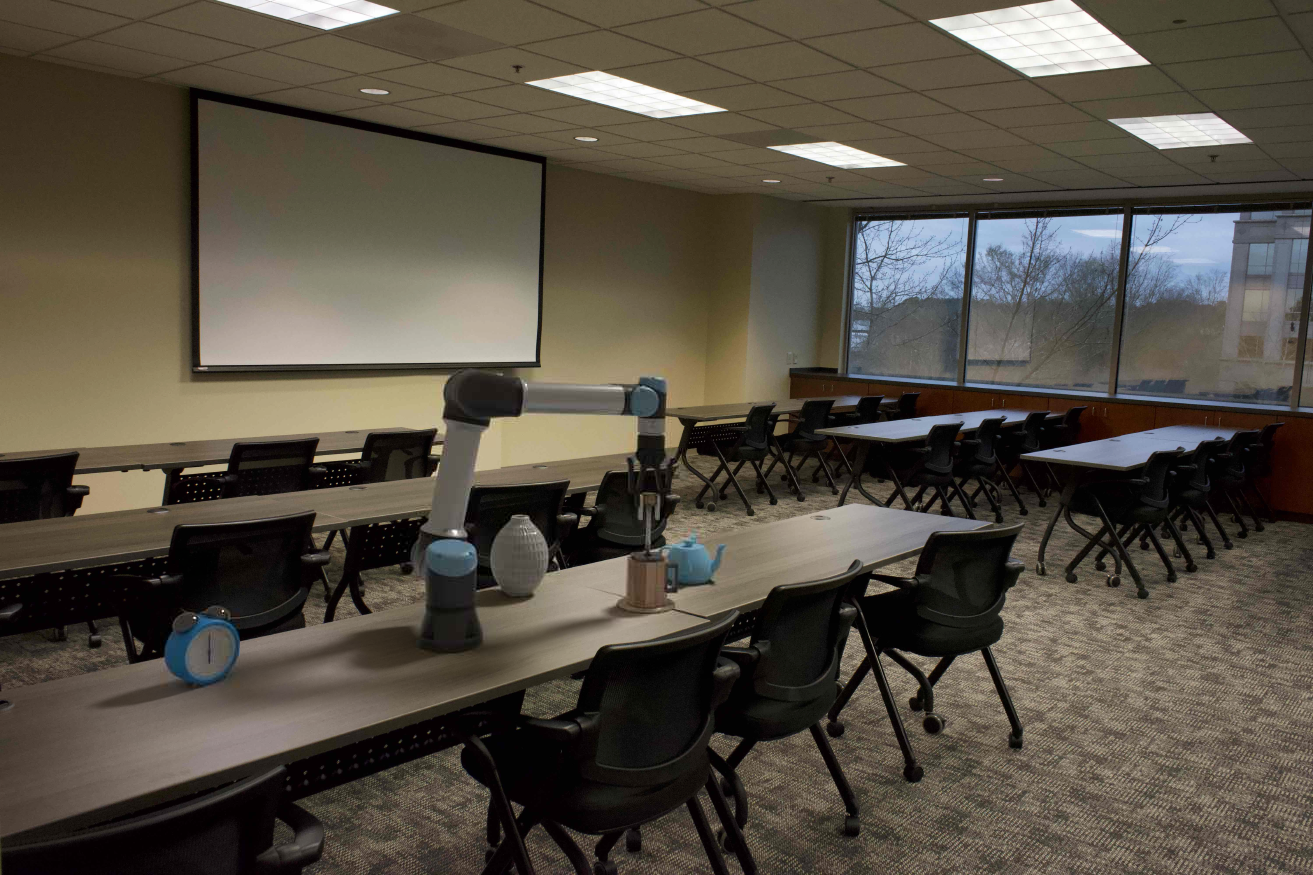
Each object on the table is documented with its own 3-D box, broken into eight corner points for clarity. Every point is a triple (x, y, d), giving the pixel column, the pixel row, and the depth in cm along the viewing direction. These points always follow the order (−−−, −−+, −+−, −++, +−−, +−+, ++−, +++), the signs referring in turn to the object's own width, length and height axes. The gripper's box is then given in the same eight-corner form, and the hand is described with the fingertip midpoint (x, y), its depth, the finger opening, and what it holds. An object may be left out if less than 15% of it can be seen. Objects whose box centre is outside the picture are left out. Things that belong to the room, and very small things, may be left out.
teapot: (729, 581, 285) (731, 542, 283) (682, 589, 273) (683, 548, 272) (693, 569, 298) (695, 532, 297) (647, 577, 287) (648, 538, 286)
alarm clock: (181, 694, 183) (179, 619, 181) (163, 687, 186) (161, 614, 185) (241, 675, 194) (240, 605, 193) (223, 669, 197) (222, 600, 196)
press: (622, 614, 246) (623, 562, 245) (613, 597, 262) (614, 549, 260) (682, 612, 249) (684, 561, 248) (670, 596, 265) (671, 548, 264)
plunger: (636, 569, 250) (638, 495, 248) (631, 562, 257) (633, 491, 255) (663, 568, 252) (665, 495, 250) (657, 562, 259) (660, 491, 257)
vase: (486, 587, 269) (487, 511, 267) (541, 584, 274) (543, 510, 272) (494, 602, 253) (495, 522, 251) (552, 599, 258) (554, 520, 256)
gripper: (622, 434, 246) (620, 521, 248) (685, 435, 249) (682, 521, 251) (618, 432, 253) (615, 516, 255) (679, 432, 256) (676, 516, 259)
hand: (648, 518), depth 253 cm, fingers closed on plunger, 4 cm apart
